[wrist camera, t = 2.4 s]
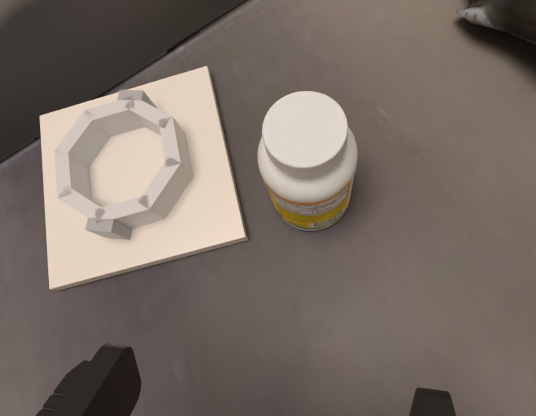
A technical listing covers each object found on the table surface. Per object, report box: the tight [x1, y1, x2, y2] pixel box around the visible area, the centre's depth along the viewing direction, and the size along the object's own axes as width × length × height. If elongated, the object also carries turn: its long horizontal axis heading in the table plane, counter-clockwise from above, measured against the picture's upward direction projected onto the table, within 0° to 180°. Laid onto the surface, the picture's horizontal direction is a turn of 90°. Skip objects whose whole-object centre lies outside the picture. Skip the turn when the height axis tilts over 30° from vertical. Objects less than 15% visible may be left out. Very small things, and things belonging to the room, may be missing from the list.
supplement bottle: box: [258, 91, 358, 231], centre depth 22 cm, size 5×5×10 cm
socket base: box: [40, 66, 248, 290], centre depth 28 cm, size 14×14×4 cm
